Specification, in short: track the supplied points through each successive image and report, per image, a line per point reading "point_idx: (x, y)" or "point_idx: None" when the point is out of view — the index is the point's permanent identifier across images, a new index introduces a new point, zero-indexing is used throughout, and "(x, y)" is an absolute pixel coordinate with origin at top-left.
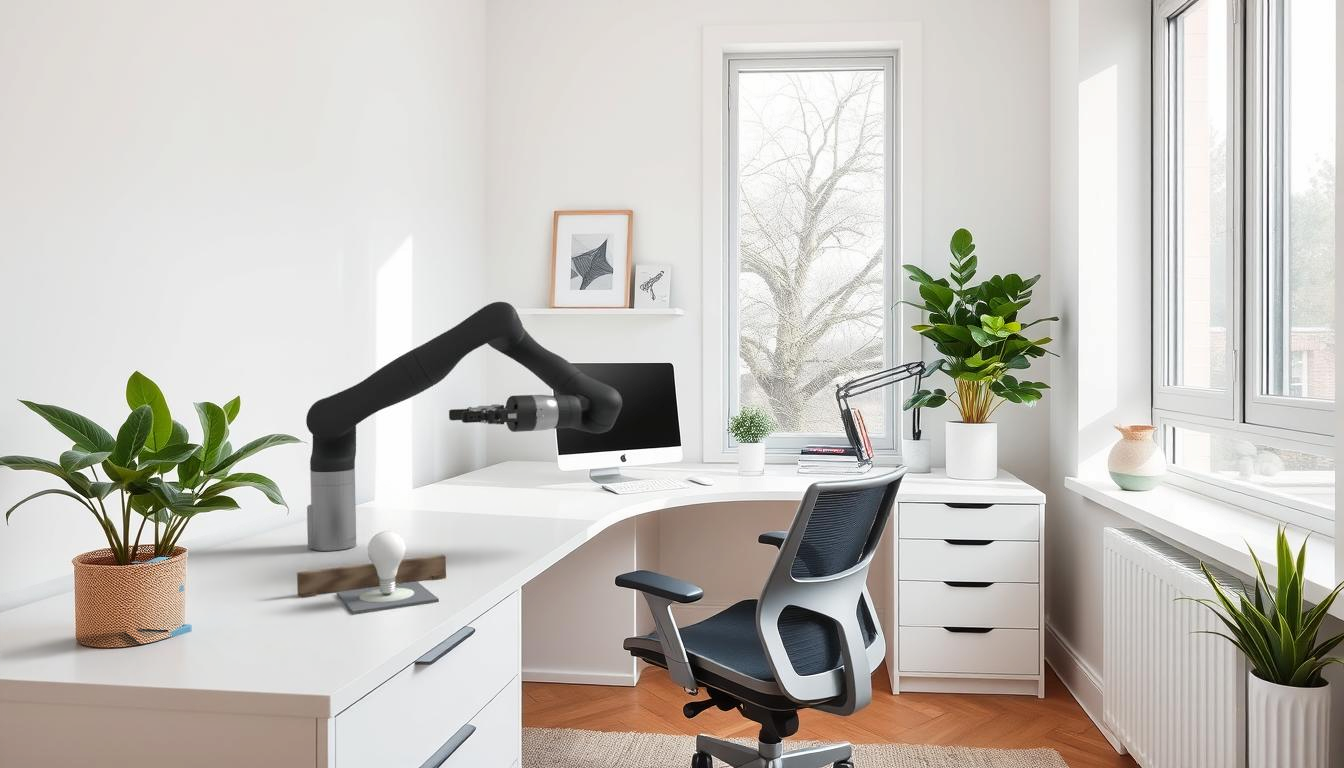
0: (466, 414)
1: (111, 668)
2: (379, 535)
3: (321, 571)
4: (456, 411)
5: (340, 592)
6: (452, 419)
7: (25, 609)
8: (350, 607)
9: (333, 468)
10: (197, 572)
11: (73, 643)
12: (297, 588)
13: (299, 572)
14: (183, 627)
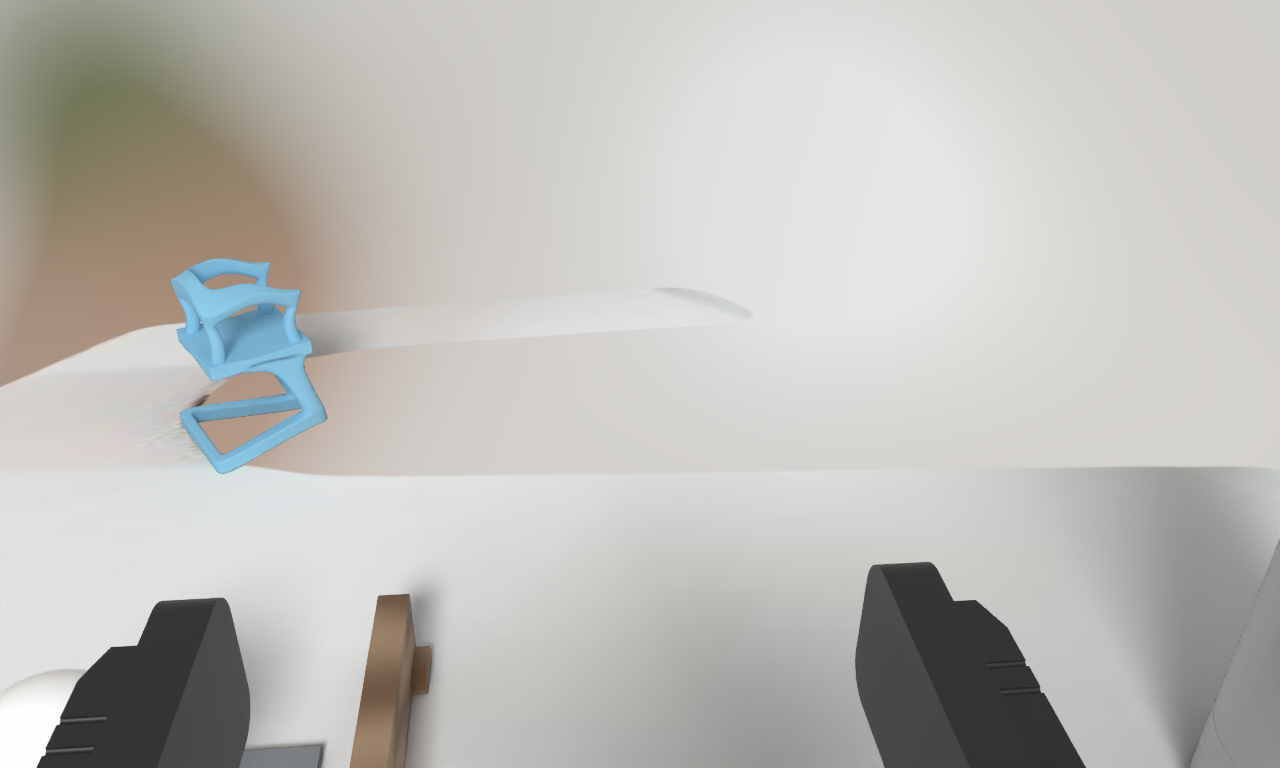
0: (122, 657)
1: (61, 400)
2: (29, 677)
3: (369, 651)
4: (903, 649)
5: (306, 754)
6: (865, 693)
7: (639, 299)
8: None
9: None
10: (892, 469)
11: None
12: (414, 637)
13: (405, 599)
14: (210, 453)
